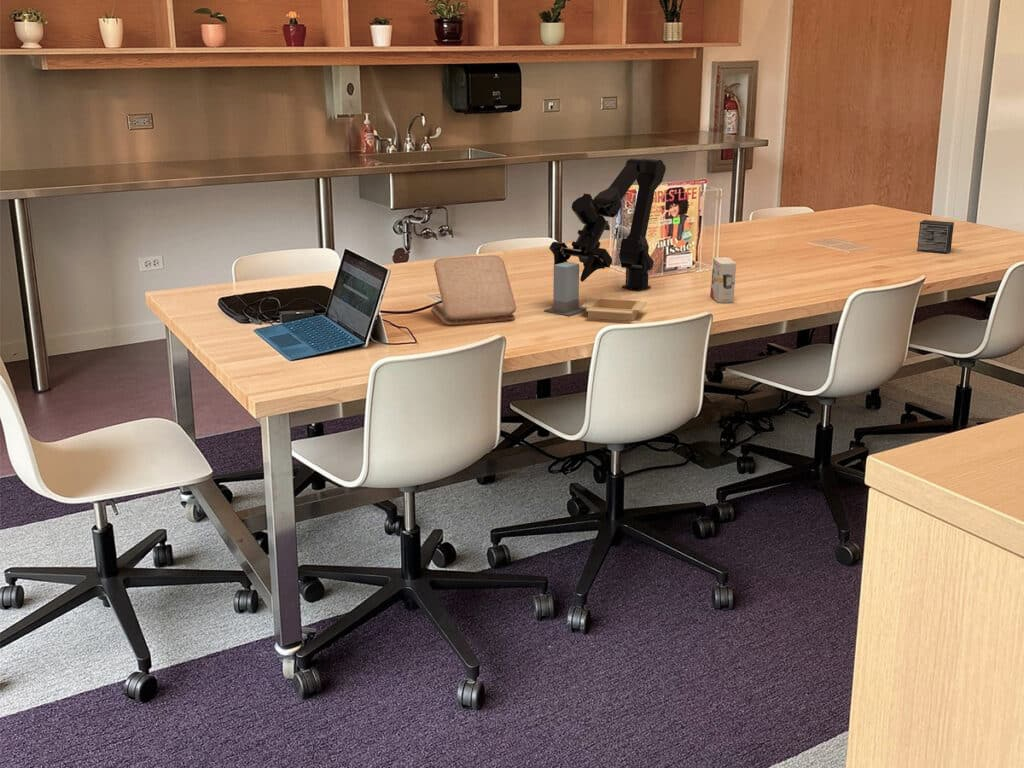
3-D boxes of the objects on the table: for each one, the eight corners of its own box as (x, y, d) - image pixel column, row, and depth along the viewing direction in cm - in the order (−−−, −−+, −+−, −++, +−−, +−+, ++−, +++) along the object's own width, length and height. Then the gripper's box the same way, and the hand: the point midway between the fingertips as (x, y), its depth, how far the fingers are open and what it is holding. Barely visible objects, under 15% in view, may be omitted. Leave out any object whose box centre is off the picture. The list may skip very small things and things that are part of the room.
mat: (563, 305, 323) (563, 304, 323) (588, 310, 318) (588, 308, 317) (544, 311, 316) (544, 310, 316) (569, 316, 311) (569, 315, 311)
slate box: (565, 306, 320) (566, 261, 316) (578, 308, 318) (579, 263, 314) (553, 310, 316) (553, 265, 312) (566, 312, 313) (566, 267, 309)
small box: (951, 251, 395) (955, 221, 392) (947, 254, 390) (951, 224, 387) (920, 248, 401) (923, 219, 397) (916, 251, 395) (919, 221, 392)
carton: (592, 304, 323) (592, 295, 322) (649, 308, 319) (649, 298, 318) (578, 319, 307) (578, 309, 306) (638, 324, 303) (638, 313, 302)
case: (445, 328, 301) (444, 269, 296) (429, 309, 320) (428, 254, 315) (518, 322, 307) (518, 265, 302) (497, 304, 326) (497, 250, 321)
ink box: (709, 296, 333) (711, 257, 329) (726, 295, 333) (728, 256, 330) (717, 303, 325) (719, 263, 321) (734, 302, 325) (737, 262, 321)
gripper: (629, 254, 320) (606, 299, 315) (576, 246, 331) (553, 289, 326) (614, 231, 311) (590, 277, 307) (560, 223, 322) (537, 268, 318)
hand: (568, 278), depth 315 cm, fingers open, 9 cm apart
